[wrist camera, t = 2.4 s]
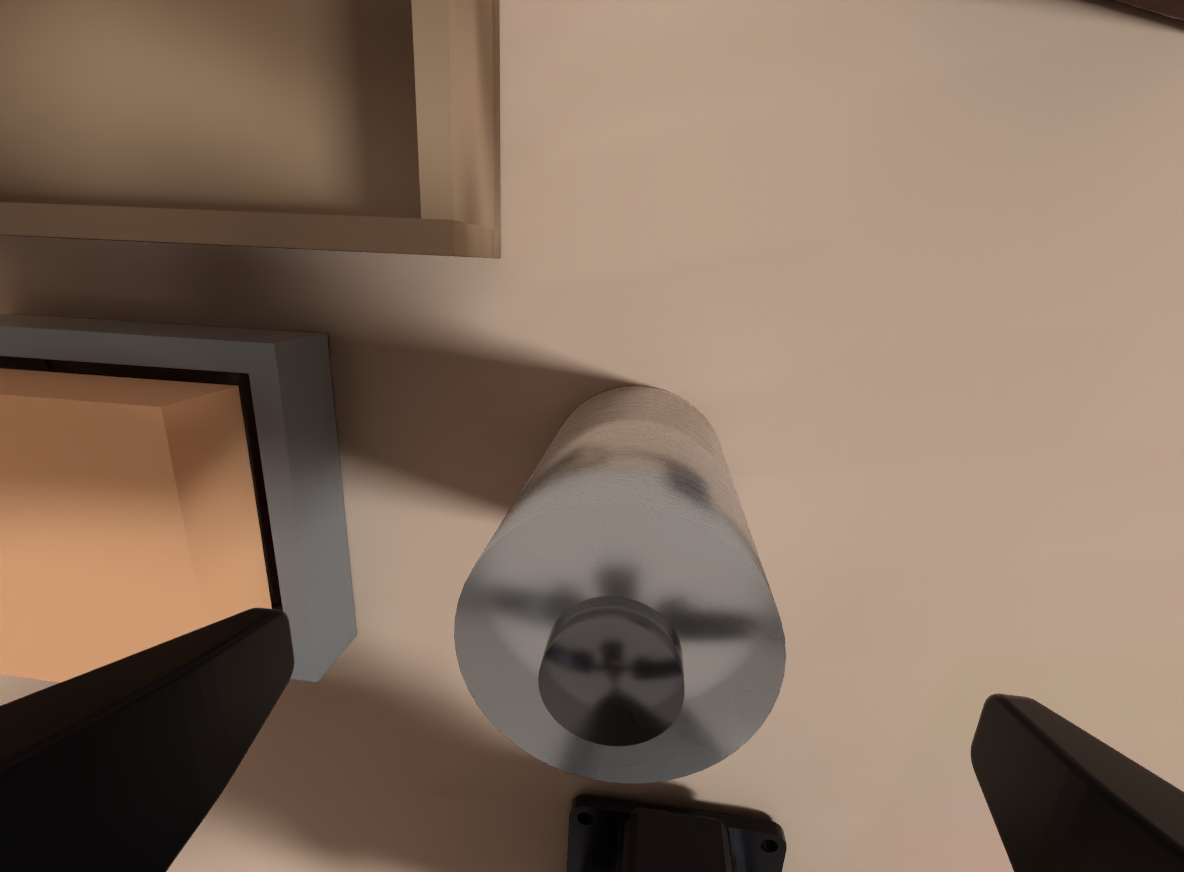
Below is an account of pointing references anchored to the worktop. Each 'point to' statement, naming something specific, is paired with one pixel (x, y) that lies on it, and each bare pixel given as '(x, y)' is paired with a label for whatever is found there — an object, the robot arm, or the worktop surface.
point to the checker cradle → (286, 440)
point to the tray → (253, 123)
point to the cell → (624, 600)
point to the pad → (120, 518)
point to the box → (1160, 7)
